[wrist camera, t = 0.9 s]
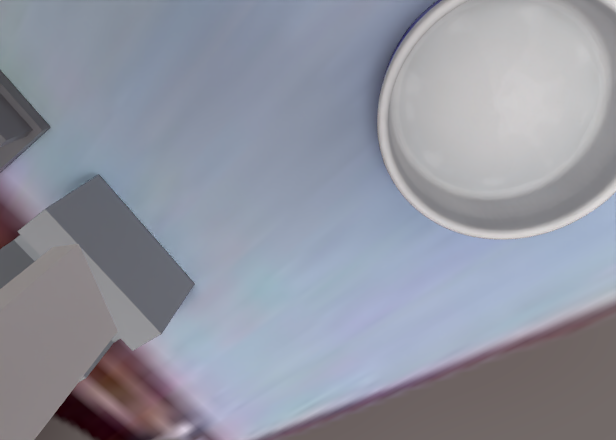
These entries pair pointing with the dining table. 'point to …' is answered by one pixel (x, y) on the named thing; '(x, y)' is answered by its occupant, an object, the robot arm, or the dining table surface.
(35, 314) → the robot arm
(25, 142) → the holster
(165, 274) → the port
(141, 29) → the dining table surface
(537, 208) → the dog bowl
